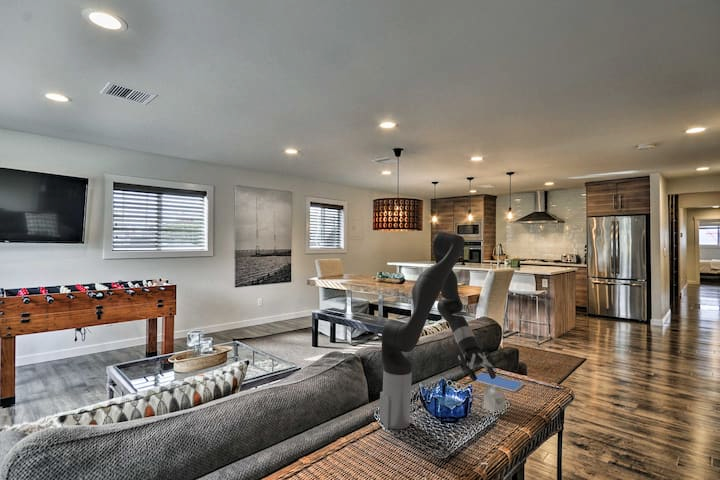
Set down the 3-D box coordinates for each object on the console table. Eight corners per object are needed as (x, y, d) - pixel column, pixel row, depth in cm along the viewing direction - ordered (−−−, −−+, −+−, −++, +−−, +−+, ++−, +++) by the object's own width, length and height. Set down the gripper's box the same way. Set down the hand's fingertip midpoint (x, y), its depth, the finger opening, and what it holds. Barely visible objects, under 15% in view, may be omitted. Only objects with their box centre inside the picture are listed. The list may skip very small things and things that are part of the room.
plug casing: (494, 416, 132) (495, 389, 132) (483, 409, 137) (484, 383, 138) (504, 414, 134) (505, 387, 134) (493, 407, 139) (494, 382, 139)
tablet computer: (469, 381, 167) (469, 378, 167) (481, 374, 176) (481, 371, 176) (514, 394, 154) (514, 390, 154) (524, 386, 164) (524, 383, 164)
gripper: (455, 336, 146) (474, 376, 135) (485, 334, 152) (505, 372, 141) (447, 346, 151) (464, 386, 140) (476, 344, 156) (494, 381, 146)
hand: (484, 379), depth 141 cm, fingers open, 8 cm apart
